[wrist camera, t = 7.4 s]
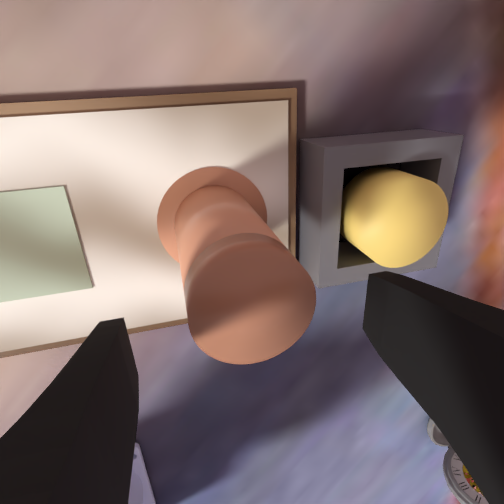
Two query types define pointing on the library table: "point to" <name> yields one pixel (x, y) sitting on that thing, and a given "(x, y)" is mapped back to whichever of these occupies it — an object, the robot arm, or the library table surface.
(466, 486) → the pocket watch
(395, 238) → the button
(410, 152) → the button base
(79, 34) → the library table surface
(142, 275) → the colouring board
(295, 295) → the brown cylinder
